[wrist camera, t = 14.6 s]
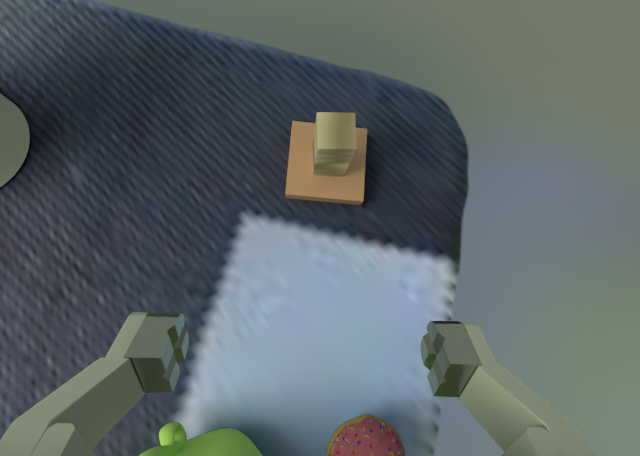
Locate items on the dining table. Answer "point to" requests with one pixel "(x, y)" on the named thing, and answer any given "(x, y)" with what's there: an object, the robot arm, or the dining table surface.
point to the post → (333, 143)
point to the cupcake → (365, 438)
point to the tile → (323, 187)
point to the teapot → (202, 443)
